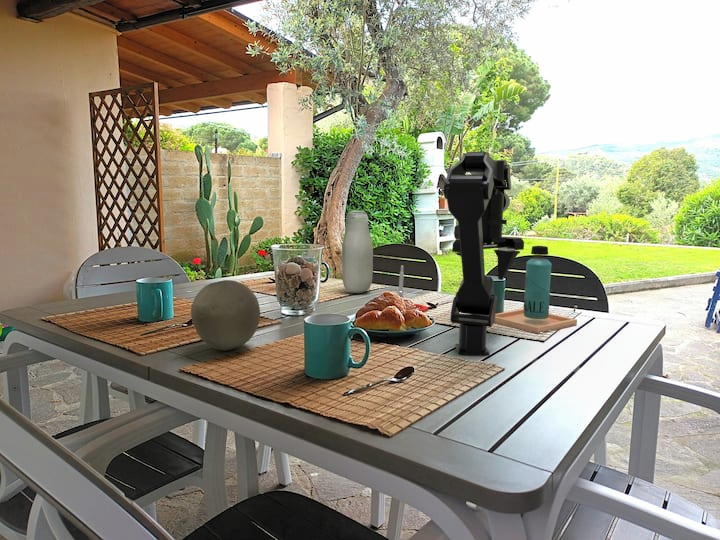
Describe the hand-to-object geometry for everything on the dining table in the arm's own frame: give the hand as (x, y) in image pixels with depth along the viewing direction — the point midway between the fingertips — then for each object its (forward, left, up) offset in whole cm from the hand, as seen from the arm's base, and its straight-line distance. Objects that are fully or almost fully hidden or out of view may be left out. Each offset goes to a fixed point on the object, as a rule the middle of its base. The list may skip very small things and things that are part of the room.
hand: (487, 281), depth 123 cm
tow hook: (+26, +17, -13) cm, 34 cm away
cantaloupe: (-19, +57, -13) cm, 62 cm away
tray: (+13, -14, -13) cm, 23 cm away
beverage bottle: (+12, -15, -13) cm, 23 cm away
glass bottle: (+50, +35, -13) cm, 62 cm away
